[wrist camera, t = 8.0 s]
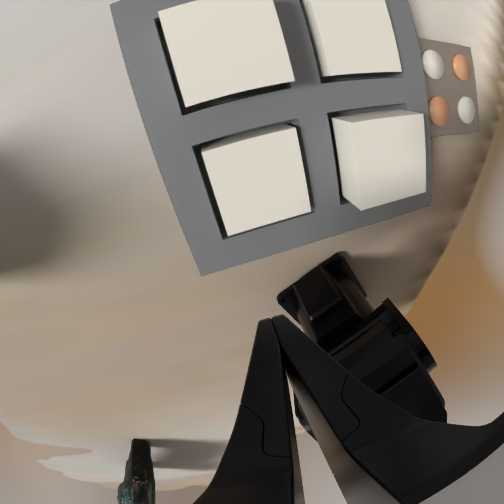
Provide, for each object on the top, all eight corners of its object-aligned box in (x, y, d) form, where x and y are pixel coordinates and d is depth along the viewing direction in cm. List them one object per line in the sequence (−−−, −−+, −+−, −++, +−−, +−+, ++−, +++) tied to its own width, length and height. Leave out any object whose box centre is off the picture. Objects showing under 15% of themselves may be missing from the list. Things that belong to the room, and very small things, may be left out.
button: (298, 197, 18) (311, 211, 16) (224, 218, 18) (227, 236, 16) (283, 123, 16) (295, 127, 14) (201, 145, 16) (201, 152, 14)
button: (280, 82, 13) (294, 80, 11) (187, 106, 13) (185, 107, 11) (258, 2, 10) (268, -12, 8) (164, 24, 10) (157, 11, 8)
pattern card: (471, 128, 19) (480, 132, 17) (413, 135, 18) (424, 139, 17) (462, 47, 14) (472, 47, 13) (399, 38, 14) (409, 36, 13)
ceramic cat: (146, 469, 44) (151, 548, 27) (117, 463, 42) (118, 544, 25) (160, 441, 36) (168, 552, 19) (120, 434, 34) (121, 547, 17)
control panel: (407, 191, 21) (430, 205, 18) (200, 252, 20) (201, 276, 18) (375, -16, 12) (398, -25, 9) (123, 17, 11) (109, 4, 9)
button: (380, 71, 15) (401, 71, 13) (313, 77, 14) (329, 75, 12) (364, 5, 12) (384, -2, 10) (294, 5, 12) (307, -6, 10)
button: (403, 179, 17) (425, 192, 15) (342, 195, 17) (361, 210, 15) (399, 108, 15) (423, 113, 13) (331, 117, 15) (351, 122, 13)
